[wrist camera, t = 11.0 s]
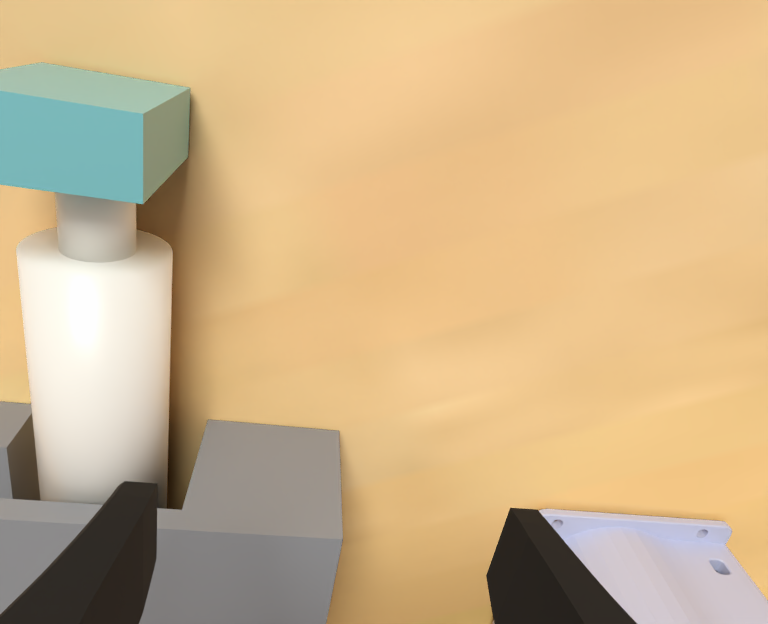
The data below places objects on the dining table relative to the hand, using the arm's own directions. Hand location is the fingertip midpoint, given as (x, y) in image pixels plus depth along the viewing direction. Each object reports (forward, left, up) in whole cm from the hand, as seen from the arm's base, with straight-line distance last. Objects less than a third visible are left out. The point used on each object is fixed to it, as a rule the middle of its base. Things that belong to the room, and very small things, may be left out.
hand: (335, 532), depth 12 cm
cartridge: (+7, +1, -10) cm, 12 cm away
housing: (+6, +11, -10) cm, 16 cm away
